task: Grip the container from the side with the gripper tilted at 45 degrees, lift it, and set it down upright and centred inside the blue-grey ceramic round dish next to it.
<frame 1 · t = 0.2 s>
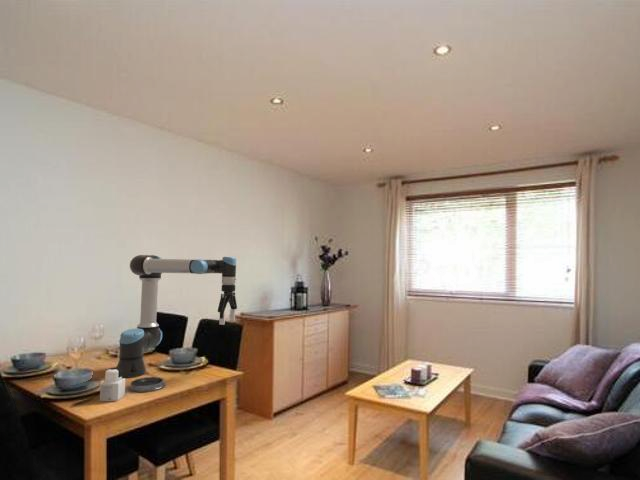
hand: (227, 322, 217), 28 cm above the table, tool pointing down, fingers open, 13 cm apart
blue-grey ceramic round dish: (147, 386, 191), on the table
container: (112, 398, 174), on the table
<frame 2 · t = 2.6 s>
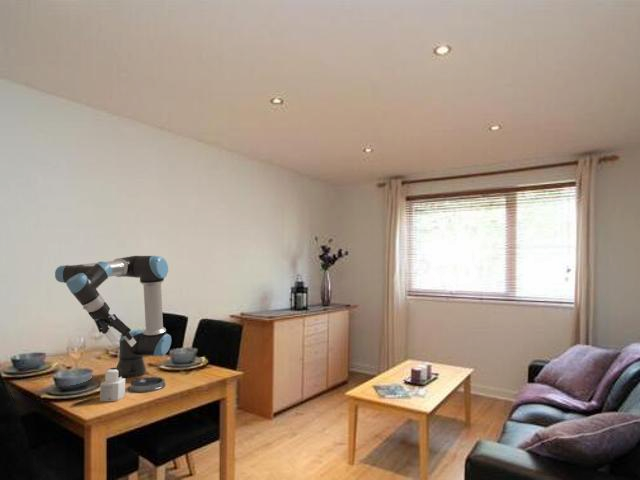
hand: (124, 343, 172), 25 cm above the table, tool tilted 35°, fingers open, 13 cm apart
nothing on the table moved.
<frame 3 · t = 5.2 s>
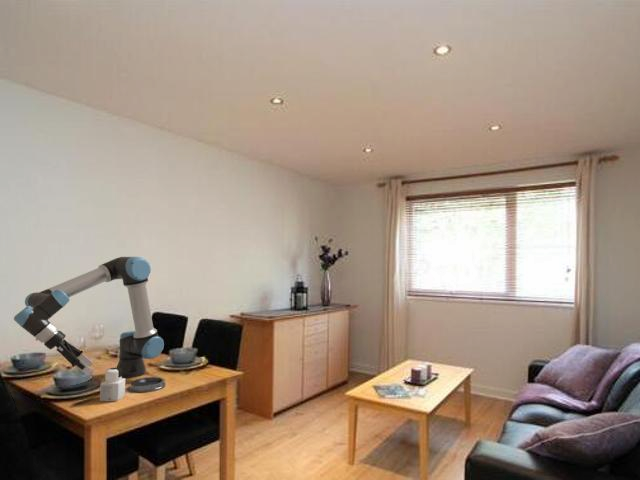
hand: (90, 369, 170), 14 cm above the table, tool tilted 45°, fingers open, 13 cm apart
nothing on the table moved.
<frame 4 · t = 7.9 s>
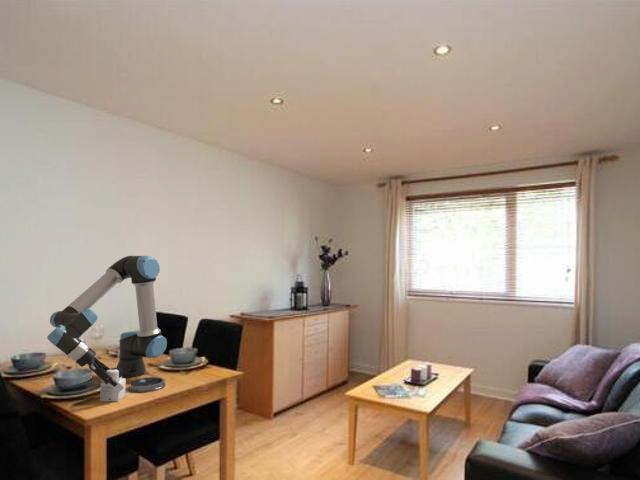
hand: (121, 386, 176), 5 cm above the table, tool tilted 45°, fingers closed on container, 10 cm apart
container: (112, 398, 174), on the table, touching gripper
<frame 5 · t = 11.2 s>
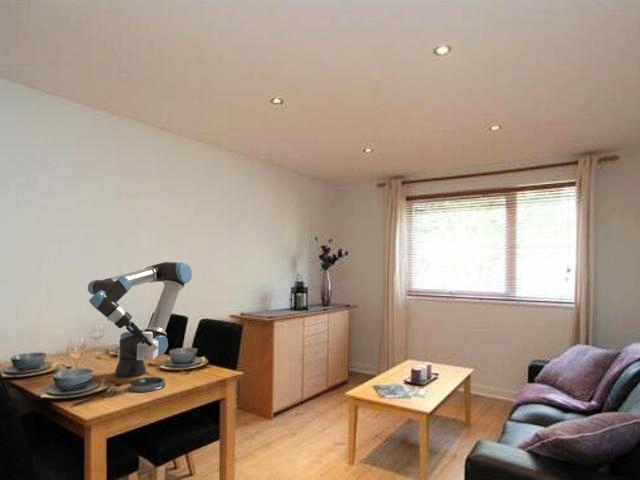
hand: (154, 347, 192), 19 cm above the table, tool tilted 45°, fingers closed on container, 10 cm apart
container: (147, 358, 191), point 14 cm above the table, touching gripper
when the fingers open (8 cm above the table, at t = 14.5 s): container drops 3 cm, resting on blue-grey ceramic round dish.
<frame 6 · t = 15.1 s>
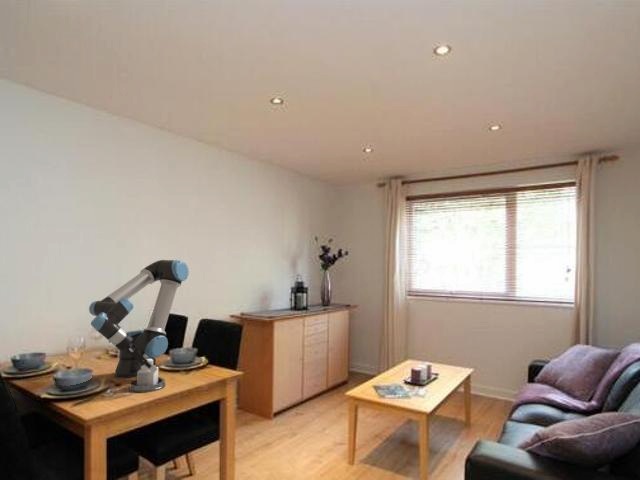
hand: (153, 367, 192), 9 cm above the table, tool tilted 45°, fingers open, 13 cm apart
container: (147, 385, 191), point 1 cm above the table, touching blue-grey ceramic round dish
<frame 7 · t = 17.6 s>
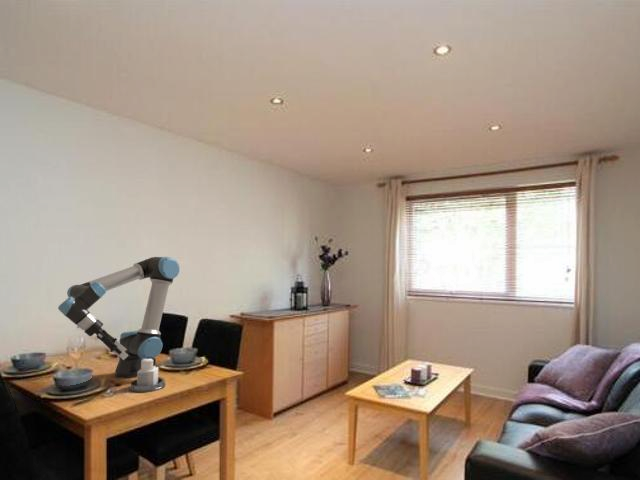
hand: (125, 354, 186), 17 cm above the table, tool tilted 45°, fingers open, 13 cm apart
nothing on the table moved.
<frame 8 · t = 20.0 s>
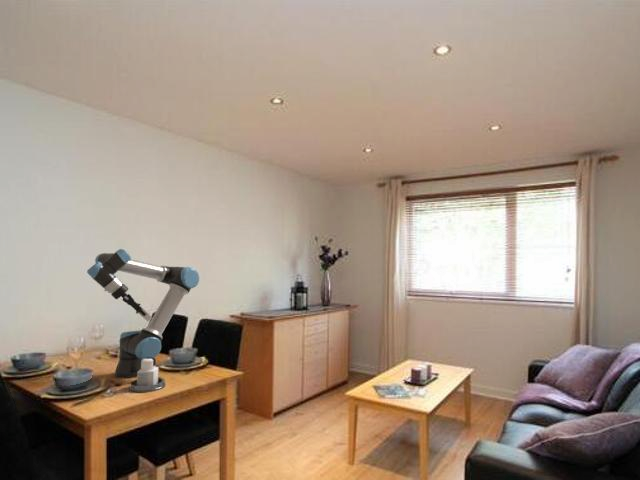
hand: (148, 317, 198), 33 cm above the table, tool tilted 45°, fingers open, 13 cm apart
nothing on the table moved.
at the end: container inside the target area on the blue-grey ceramic round dish (0.3 cm from its centre), point 0.6 cm above the blue-grey ceramic round dish's base; container tilted 0°; the gripper is holding nothing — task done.
